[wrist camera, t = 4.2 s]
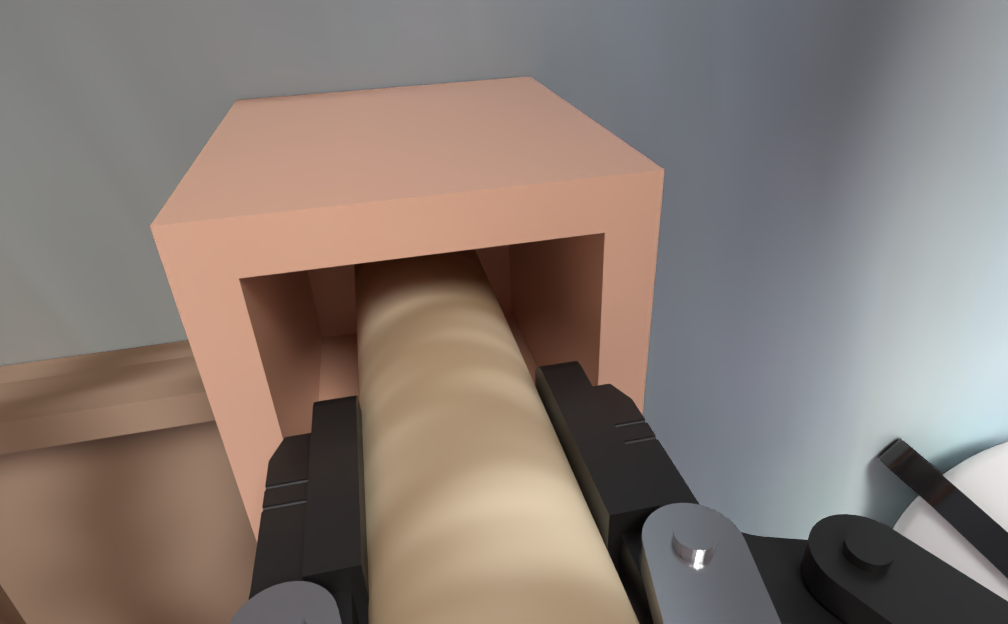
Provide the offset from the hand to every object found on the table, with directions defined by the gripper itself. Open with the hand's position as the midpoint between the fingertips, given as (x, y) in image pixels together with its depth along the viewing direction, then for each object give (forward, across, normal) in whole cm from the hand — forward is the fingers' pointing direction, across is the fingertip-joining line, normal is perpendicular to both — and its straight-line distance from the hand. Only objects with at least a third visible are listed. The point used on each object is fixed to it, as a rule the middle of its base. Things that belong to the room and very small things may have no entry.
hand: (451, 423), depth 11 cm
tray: (+10, +10, +10) cm, 17 cm away
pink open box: (+10, 0, 0) cm, 10 cm away
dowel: (+9, 0, 0) cm, 9 cm away
